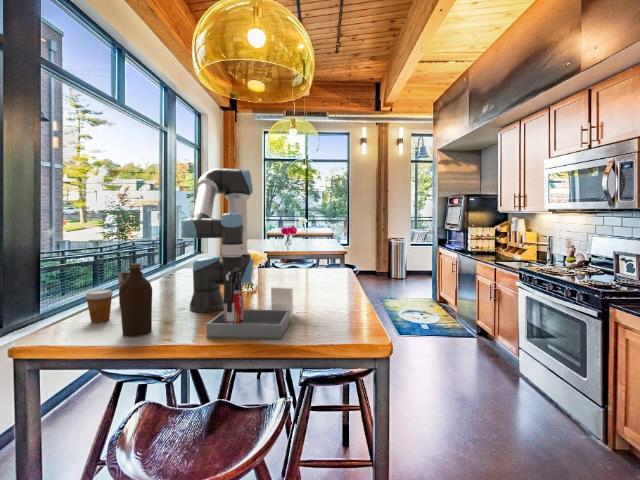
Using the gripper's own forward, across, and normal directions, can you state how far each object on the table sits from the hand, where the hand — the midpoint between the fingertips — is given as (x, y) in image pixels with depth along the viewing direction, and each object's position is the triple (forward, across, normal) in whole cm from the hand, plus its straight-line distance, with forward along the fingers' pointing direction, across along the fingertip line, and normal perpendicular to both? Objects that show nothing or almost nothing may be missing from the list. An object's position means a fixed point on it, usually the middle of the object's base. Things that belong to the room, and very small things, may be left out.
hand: (233, 317), depth 137 cm
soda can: (+2, 0, 0) cm, 2 cm away
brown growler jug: (+5, -6, +34) cm, 34 cm away
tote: (+4, 0, -6) cm, 8 cm away
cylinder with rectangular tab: (+5, +20, -14) cm, 25 cm away
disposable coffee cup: (+5, +7, +56) cm, 57 cm away
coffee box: (+5, +32, +58) cm, 67 cm away
